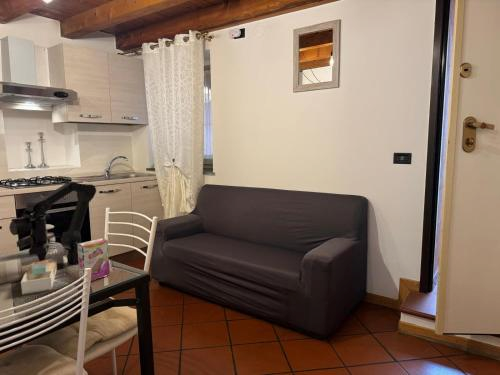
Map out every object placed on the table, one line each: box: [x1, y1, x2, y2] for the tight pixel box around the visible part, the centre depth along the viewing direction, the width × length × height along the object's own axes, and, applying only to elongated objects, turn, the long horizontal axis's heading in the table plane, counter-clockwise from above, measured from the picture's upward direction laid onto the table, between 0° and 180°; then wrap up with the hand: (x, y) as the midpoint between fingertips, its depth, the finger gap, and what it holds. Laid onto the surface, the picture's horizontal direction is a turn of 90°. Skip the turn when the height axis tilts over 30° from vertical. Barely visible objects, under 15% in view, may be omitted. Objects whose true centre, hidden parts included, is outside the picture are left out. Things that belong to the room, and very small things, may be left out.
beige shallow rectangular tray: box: [26, 258, 58, 281], centre depth 152 cm, size 10×16×4 cm, turn 25°
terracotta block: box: [34, 259, 49, 268], centre depth 150 cm, size 5×5×2 cm
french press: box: [46, 223, 58, 256], centre depth 181 cm, size 10×12×25 cm
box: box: [20, 269, 55, 295], centre depth 140 cm, size 10×11×5 cm
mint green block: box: [32, 264, 47, 275], centre depth 145 cm, size 5×5×2 cm
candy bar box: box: [77, 238, 110, 281], centre depth 146 cm, size 11×5×16 cm, turn 141°
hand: (42, 263), depth 153 cm, fingers closed
